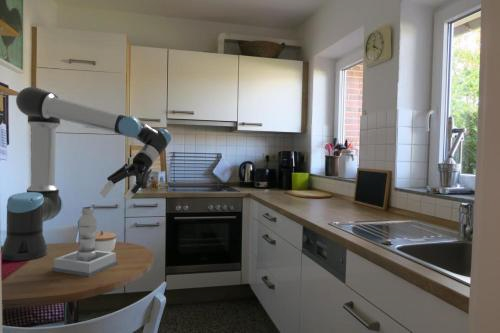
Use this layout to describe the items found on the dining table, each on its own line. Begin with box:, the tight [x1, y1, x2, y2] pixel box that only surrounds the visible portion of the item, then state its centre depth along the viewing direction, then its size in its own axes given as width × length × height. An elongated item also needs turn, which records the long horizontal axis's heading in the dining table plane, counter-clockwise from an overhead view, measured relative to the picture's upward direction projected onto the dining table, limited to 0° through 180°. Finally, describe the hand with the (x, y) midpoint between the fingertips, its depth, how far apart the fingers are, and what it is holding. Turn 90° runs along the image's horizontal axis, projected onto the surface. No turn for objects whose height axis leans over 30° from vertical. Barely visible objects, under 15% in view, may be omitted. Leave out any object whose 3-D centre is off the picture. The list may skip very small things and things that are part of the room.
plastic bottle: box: [76, 206, 98, 262], centre depth 124 cm, size 6×7×20 cm
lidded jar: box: [95, 230, 117, 252], centre depth 139 cm, size 11×11×9 cm
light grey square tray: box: [51, 250, 119, 277], centre depth 124 cm, size 15×15×4 cm
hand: (113, 197), depth 133 cm, fingers open, 13 cm apart
